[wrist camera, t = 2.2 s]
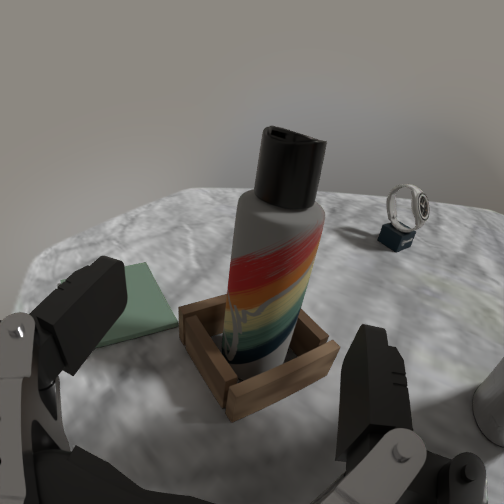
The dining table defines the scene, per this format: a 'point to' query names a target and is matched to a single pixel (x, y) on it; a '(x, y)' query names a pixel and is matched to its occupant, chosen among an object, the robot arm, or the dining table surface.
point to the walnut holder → (260, 386)
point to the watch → (397, 232)
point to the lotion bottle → (273, 252)
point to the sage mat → (140, 308)
